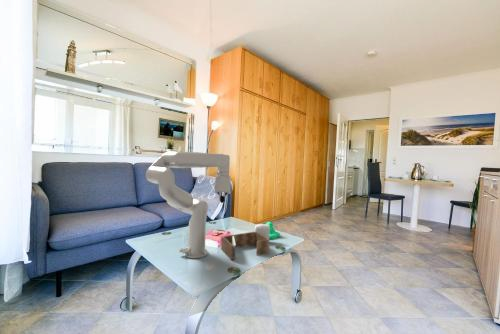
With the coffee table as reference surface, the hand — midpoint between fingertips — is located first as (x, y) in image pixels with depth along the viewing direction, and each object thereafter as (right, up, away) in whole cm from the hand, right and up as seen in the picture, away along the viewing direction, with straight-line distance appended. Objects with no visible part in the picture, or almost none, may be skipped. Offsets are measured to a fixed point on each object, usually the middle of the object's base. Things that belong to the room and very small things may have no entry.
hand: (222, 202), depth 139 cm
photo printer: (+26, -28, +6) cm, 39 cm away
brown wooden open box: (+15, -28, -9) cm, 33 cm away
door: (+9, -27, -13) cm, 32 cm away
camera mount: (+33, -28, +18) cm, 47 cm away
